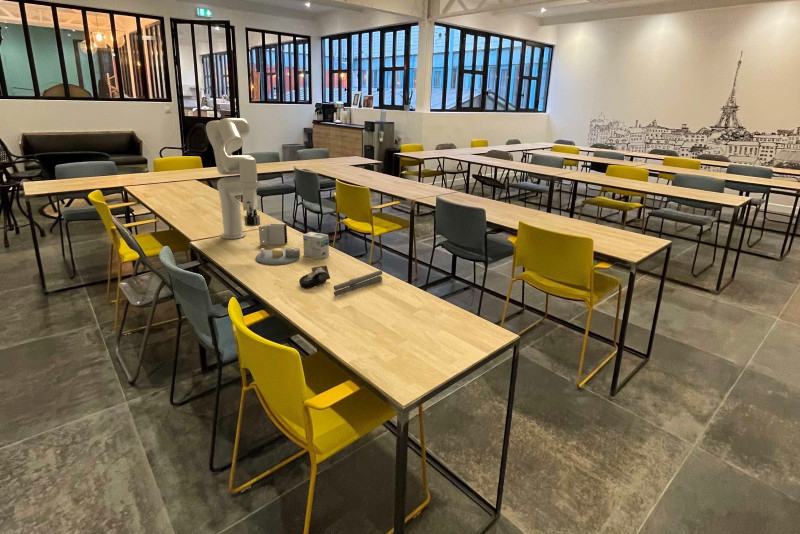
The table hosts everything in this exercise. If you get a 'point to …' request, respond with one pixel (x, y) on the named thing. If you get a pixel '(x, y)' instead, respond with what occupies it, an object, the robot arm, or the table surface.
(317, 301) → the table surface
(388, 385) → the table surface
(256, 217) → the gear
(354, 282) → the metal rod assembly
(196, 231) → the table surface
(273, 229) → the hinge
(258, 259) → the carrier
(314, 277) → the caster wheel
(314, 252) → the light bulb box
